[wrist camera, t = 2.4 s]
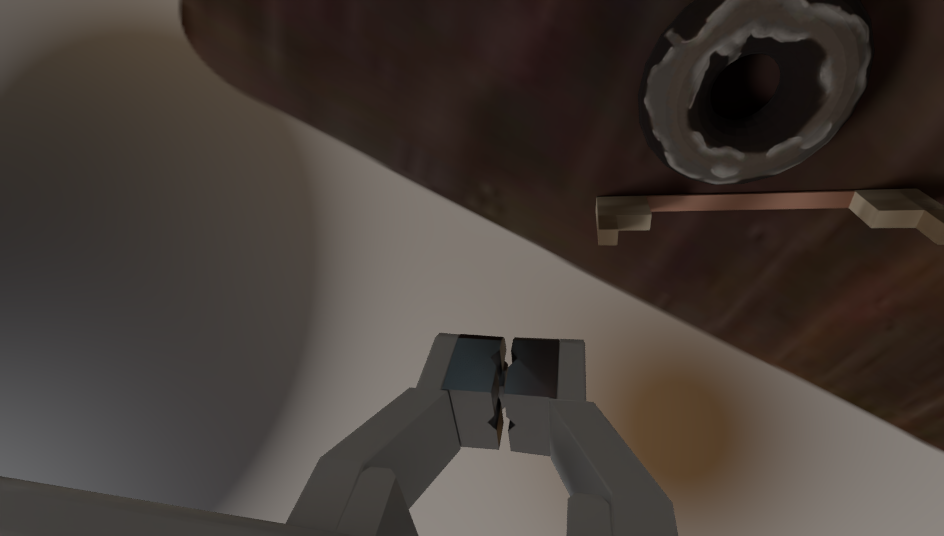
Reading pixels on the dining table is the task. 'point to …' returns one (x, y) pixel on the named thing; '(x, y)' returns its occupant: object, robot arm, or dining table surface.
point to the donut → (786, 114)
